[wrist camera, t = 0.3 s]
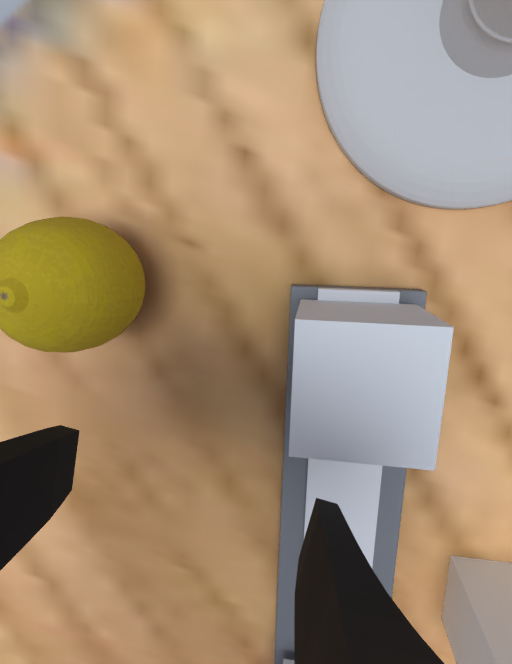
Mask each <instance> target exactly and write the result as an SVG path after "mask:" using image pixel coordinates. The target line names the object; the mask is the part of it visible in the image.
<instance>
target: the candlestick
mask: <svg viewBox="0 0 512 664" xmlns="http://www.w3.org/2000/svg"><path fill="white" fill-rule="evenodd" d="M316 70H317V83H318V90H319V96H320V100H321V104H322V108H323V111H324V114H325V117H326V120H327V123H328V125H329V128H330V130H331V132H332V134H333V136H334V138H335V140H336V141H337V143H338V145H339V146H340V148H341V150H342V151H343V152H344V154H345V155H346V157H347V158H348V159H349V160H350V162H351V163H352V164H353V165H354V166H355V167H356V168H357V169H358V170H359V171H360V172H361V173H362V174H363V175H364V176H365V177H366V178H368V179H369V180H370V181H371V182H373V183H374V184H375V185H377V186H378V187H380V188H381V189H383V190H385V191H386V192H388V193H390V194H392V195H394V196H396V197H398V198H401V199H403V200H406V201H408V202H412V203H415V204H418V205H422V206H427V207H433V208H440V209H472V208H480V207H486V206H491V205H496V204H500V203H504V202H507V201H511V200H512V0H325V1H324V4H323V8H322V12H321V17H320V22H319V28H318V35H317V47H316Z"/></svg>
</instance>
